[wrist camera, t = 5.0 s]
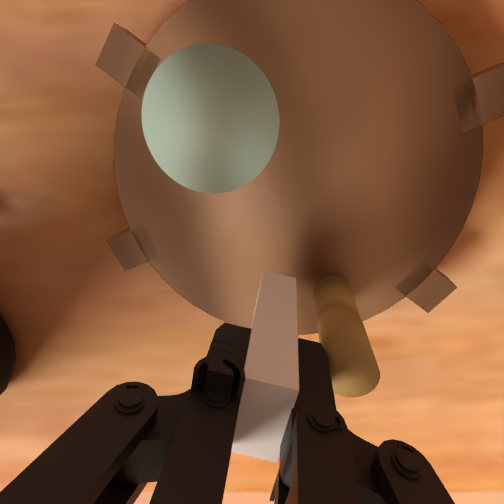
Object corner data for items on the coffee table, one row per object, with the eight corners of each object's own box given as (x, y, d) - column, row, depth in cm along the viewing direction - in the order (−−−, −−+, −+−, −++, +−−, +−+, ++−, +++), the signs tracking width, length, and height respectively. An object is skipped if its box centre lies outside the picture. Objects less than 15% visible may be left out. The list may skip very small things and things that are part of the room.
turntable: (198, 368, 21) (155, 484, 14) (32, 89, 16) (-152, 68, 9) (535, 265, 17) (700, 364, 10) (450, -169, 12) (666, -558, 5)
